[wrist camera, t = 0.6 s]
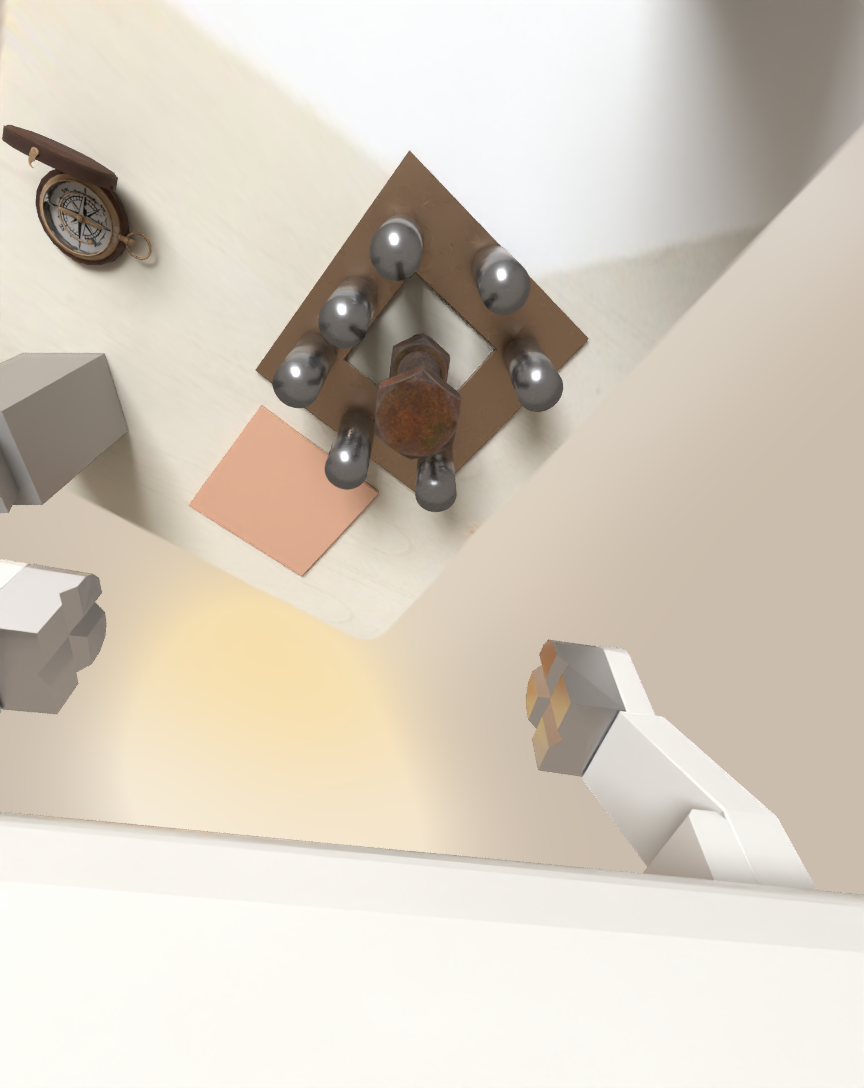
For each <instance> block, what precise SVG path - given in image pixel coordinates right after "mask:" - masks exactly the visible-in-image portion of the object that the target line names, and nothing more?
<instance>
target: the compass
mask: <svg viewBox="0 0 864 1088" xmlns="http://www.w3.org/2000/svg"><path fill="white" fill-rule="evenodd" d="M2 139H3V141H4V142H6V143H7V144H9V145H10V146H12V147H13V148H15V149H17V150H19V151H20V152H22V153H24V154H26V155H28V156H29V165H30V166H31V162H32V161H35V159H36V160H38V161H40V162H42V163H44V164H46V165H48V166H51V167H53V168H55V170H52V171H50V172H49V173H48V174H47V175H45V176H44V177H43V178H42V179H41V182H40V184H39V186H38V188H37V193H36V207H37V213H38V217H39V220H40V222H41V224H42V227H43V229H44V231H45V232H46V234H47V235H48V237H49V238H50V239H51V241H52V242H53V244H55V245H56V246H57V247H58V248H59V249H60V250H61V251H62V252H63V253H64V254H66V255H67V256H69V257H71V258H72V259H74V260H75V261H76V262H78V263H85V264H88V265H102V264H105V263H108V262H111V261H114V260H115V259H117V258H118V257H119V256H120V255H121V254H122V253H123V251H124V249H125V247H127V250H128V251H129V253H130V254H131V255H132V256H133V257H135V258H136V259H140V260H143V259H147V258H148V257H149V256H150V254H151V244H150V242H149V240H148V239H147V238H146V236H144V235H143V234H142V233H140V232H136V231H135V232H130V233H129V227H128V219H127V216H126V213H125V210H124V208H123V205H122V203H121V202H120V200H119V199H118V197H117V195H116V194H115V192H114V191H113V190H115V189H116V185H117V180H118V178H117V177H116V175H115V174H114V173H113V172H112V171H110V170H109V169H107V168H106V167H104V166H103V165H101V164H100V163H98V162H96V161H95V160H93V159H91V158H89V157H87V156H85V155H84V154H82V153H80V152H78V151H76V150H73V149H71V148H69V147H67V146H65V145H63V144H61V143H59V142H56V141H54V140H52V139H49V138H47V137H45V136H42V135H40V134H37V133H35V132H32V131H29V130H25V129H22V128H19V127H16V126H12V125H6V126H4V128H3V137H2ZM31 167H32V166H31ZM32 168H33V167H32ZM132 234H139V235H141V236H142V237H144V238H145V239H146V241H147V242H148V245H149V253H148V255H147V256H145V257H142V258H141V257H137V256H135V255H134V254H133V253H132V252H131V251H130V249H129V247H128V245H130V246H133V245H134V239H131V238H129V236H131V235H132Z"/></svg>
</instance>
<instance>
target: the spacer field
mask: <svg viewBox="0 0 864 1088" xmlns="http://www.w3.org/2000/svg"><path fill="white" fill-rule="evenodd" d="M415 272H416V273H417V274H418V275H420V276H421V277H422V278H423V279H424V280H425V281H426V282H427V283H428V284H429V285H430V286H431V287H432V288H433V289H434V290H435V291H436V292H437V293H438V294H439V295H441V296H442V297H443V298H444V299H445V300H446V301H447V302H448V303H449V304H450V305H451V306H452V307H453V308H454V309H455V310H456V311H457V312H458V313H459V314H461V315H462V316H463V317H464V318H465V319H466V320H467V321H468V322H469V323H470V324H471V325H472V326H473V327H474V328H475V329H476V330H477V331H478V332H479V333H480V334H482V335H483V336H484V337H485V338H486V339H487V340H488V341H489V342H490V343H491V344H492V345H493V346H494V347H495V348H496V349H495V350H494V351H493V352H492V353H491V354H490V356H489V357H488V358H487V359H486V360H485V361H484V362H483V363H482V364H481V365H480V366H479V368H478V369H477V370H476V371H475V372H474V373H473V374H472V375H471V376H470V377H469V378H468V380H467V381H466V382H465V383H464V384H463V385H462V386H461V387H460V388H459V389H458V391H457V392H458V393H460V394H461V407H460V414H459V419H458V424H457V429H456V434H455V439H454V442H453V445H451V446H449V447H447V448H446V449H444V450H442V451H439V452H437V453H435V454H432V455H429V456H425V457H422V458H417V459H411V460H410V459H408V458H406V457H404V456H402V455H401V454H399V453H398V452H396V451H395V450H393V449H392V448H390V447H389V446H387V445H386V444H385V443H384V442H383V441H382V440H381V439H380V438H378V437H377V436H376V435H375V434H374V424H375V414H376V405H377V396H378V389H379V387H378V386H377V385H376V384H374V383H373V382H372V381H371V380H370V379H368V378H367V377H366V376H365V375H364V374H362V373H361V372H360V371H359V370H358V369H356V368H355V367H354V366H353V365H351V364H350V363H349V362H348V361H347V360H345V359H344V358H345V357H346V356H347V354H348V353H349V352H350V350H351V349H352V348H353V347H354V346H356V345H358V344H359V343H360V342H361V341H362V340H363V338H364V337H365V334H366V332H367V329H368V327H369V326H370V325H371V323H372V322H373V321H374V320H375V318H376V317H377V316H378V314H379V313H380V312H381V311H382V309H383V308H384V307H385V305H386V304H387V303H388V302H389V300H390V299H391V298H392V296H393V295H394V294H395V293H396V291H397V290H398V289H399V287H400V286H401V285H402V284H403V282H404V281H405V280H406V279H407V278H409V277H411V276H412V275H413V274H414V273H415ZM588 339H589V338H588V337H587V336H586V335H585V334H584V333H583V332H582V331H581V330H580V329H579V328H578V327H577V326H576V325H575V324H574V323H573V322H572V321H571V320H570V319H569V317H568V316H567V315H566V314H565V313H564V312H563V311H562V310H561V309H560V308H559V307H558V306H557V305H556V304H555V303H554V302H553V301H552V300H551V299H550V298H549V296H548V295H547V294H546V293H545V292H544V291H543V290H542V289H541V288H540V287H539V286H538V285H537V284H536V283H535V282H534V281H533V280H532V279H531V278H530V277H529V275H528V273H527V271H526V270H525V269H524V267H523V266H522V265H521V264H520V263H519V262H518V261H517V260H516V259H515V258H514V257H513V256H512V255H511V254H510V253H509V252H508V251H507V250H506V249H504V248H503V247H501V246H500V245H499V244H498V243H497V242H496V241H495V240H494V239H493V238H492V237H491V236H490V235H489V233H488V232H487V231H486V230H485V229H484V228H483V227H482V226H481V225H480V224H479V223H478V222H477V221H476V220H475V219H474V218H473V217H472V216H471V215H470V214H469V212H468V211H467V210H466V209H465V208H464V207H463V206H462V205H461V204H460V203H459V202H458V201H457V200H456V199H455V198H454V197H453V196H452V195H451V194H450V193H449V191H448V190H447V189H446V188H445V187H444V186H443V185H442V184H441V183H440V182H439V181H438V180H437V179H436V178H435V177H434V176H433V175H432V174H431V173H430V172H429V170H428V169H427V168H426V167H425V166H424V165H423V164H422V163H421V162H420V161H419V160H418V159H417V158H416V157H415V156H414V155H413V154H412V153H411V152H410V151H409V152H408V153H407V155H406V156H405V158H404V159H403V160H402V162H401V163H400V165H399V166H398V168H397V169H396V170H395V172H394V173H393V175H392V176H391V178H390V179H389V180H388V182H387V183H386V185H385V186H384V188H383V189H382V190H381V192H380V193H379V195H378V196H377V198H376V199H375V200H374V202H373V203H372V205H371V206H370V208H369V209H368V210H367V212H366V213H365V215H364V216H363V218H362V219H361V220H360V222H359V223H358V225H357V226H356V228H355V229H354V230H353V232H352V233H351V235H350V236H349V238H348V239H347V240H346V242H345V243H344V245H343V246H342V248H341V249H340V250H339V252H338V253H337V255H336V256H335V257H334V259H333V260H332V262H331V263H330V265H329V266H328V267H327V269H326V270H325V272H324V273H323V275H322V276H321V277H320V279H319V280H318V282H317V283H316V285H315V286H314V287H313V289H312V290H311V292H310V293H309V295H308V296H307V297H306V299H305V300H304V302H303V303H302V305H301V306H300V307H299V309H298V310H297V312H296V313H295V315H294V316H293V317H292V319H291V320H290V322H289V323H288V325H287V326H286V327H285V329H284V330H283V332H282V333H281V335H280V336H279V337H278V339H277V340H276V342H275V343H274V345H273V346H272V347H271V349H270V350H269V352H268V353H267V355H266V356H265V357H264V359H263V360H262V362H261V363H260V365H259V366H258V367H257V369H256V371H257V372H258V373H260V374H261V375H262V376H264V377H265V378H266V379H268V380H269V381H270V382H272V383H273V389H274V392H275V394H276V395H277V397H278V398H279V399H280V400H281V401H282V402H283V403H284V404H286V405H288V406H290V407H294V408H306V409H307V410H308V411H310V412H311V413H312V414H314V415H315V416H316V417H318V418H319V419H320V420H321V421H323V422H324V423H325V424H327V425H328V426H329V427H331V428H332V429H333V430H335V431H336V435H335V438H334V441H333V444H332V446H331V449H330V452H329V455H328V458H327V461H326V463H325V475H326V477H327V479H328V480H329V482H330V483H331V484H333V485H334V486H336V487H338V488H340V489H346V490H349V489H354V488H357V487H359V486H360V485H361V484H362V483H363V482H364V480H365V478H366V475H367V470H368V465H369V460H370V458H371V459H373V460H374V461H375V462H377V463H378V464H379V465H381V466H382V467H383V468H384V469H386V470H387V471H388V472H390V473H391V474H392V475H394V476H395V477H396V478H398V479H399V480H400V481H402V482H403V483H404V484H405V485H407V486H408V487H409V488H411V489H412V490H413V491H415V496H416V500H417V502H418V503H419V505H420V506H421V507H422V508H424V509H426V510H428V511H431V512H440V511H444V510H446V509H448V508H449V507H450V506H451V505H452V504H453V503H454V501H455V499H456V483H455V473H456V472H457V471H458V470H459V469H460V468H461V467H462V466H463V465H464V464H465V463H466V462H467V461H468V460H469V459H470V458H471V457H472V456H473V455H474V454H475V453H476V452H477V451H478V450H479V449H480V448H481V447H482V446H483V445H484V444H485V443H486V442H487V441H488V440H489V438H490V437H491V436H492V435H493V434H494V433H495V432H496V431H497V430H498V429H499V428H500V427H501V426H502V425H503V424H504V423H505V422H506V421H507V420H508V419H509V418H510V417H511V416H512V415H513V414H514V413H515V412H516V411H517V410H518V409H519V408H520V407H521V406H522V405H523V407H525V408H526V409H528V410H530V411H535V412H541V411H545V410H548V409H550V408H551V407H553V406H554V405H555V404H556V403H557V402H558V401H559V399H560V397H561V395H562V391H563V382H562V379H561V377H560V375H559V374H558V372H557V370H558V369H559V368H560V367H561V366H562V365H563V364H564V363H565V362H566V361H567V360H568V359H569V358H570V357H571V356H572V355H573V354H574V353H575V352H576V351H577V350H578V349H579V348H580V347H581V346H582V345H583V344H584V343H585V342H586V341H587V340H588Z"/></svg>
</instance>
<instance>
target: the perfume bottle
mask: <svg viewBox="0 0 864 1088" xmlns="http://www.w3.org/2000/svg"><path fill="white" fill-rule="evenodd" d="M127 431H128V427H127V424H126V420H125V417H124V414H123V411H122V408H121V404H120V401H119V398H118V395H117V392H116V388H115V385H114V382H113V379H112V376H111V372H110V369H109V366H108V363H107V360H106V356H105V353H22V354H20V355H17V356H15V357H13V358H11V359H9V360H6V361H4V362H2V363H0V513H9V511H10V509H11V507H12V505H43V504H44V503H45V502H46V501H47V500H48V499H50V498H51V497H52V496H53V495H54V494H55V493H57V492H58V491H59V490H60V489H61V488H62V487H64V486H65V485H66V484H67V483H68V482H69V481H70V480H72V479H73V478H74V477H75V476H76V475H77V474H79V473H80V472H81V471H82V470H83V469H84V468H85V467H87V466H88V465H89V464H90V463H91V462H92V461H94V460H95V459H96V458H97V457H98V456H99V455H100V454H102V453H103V452H104V451H105V450H106V449H107V448H109V447H110V446H111V445H112V444H113V443H114V442H116V441H117V440H118V439H119V438H120V437H121V436H122V435H124V434H125V433H126V432H127Z"/></svg>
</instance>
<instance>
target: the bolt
mask: <svg viewBox="0 0 864 1088" xmlns="http://www.w3.org/2000/svg"><path fill="white" fill-rule="evenodd" d="M449 362H450V355H449V354H448V353H447V352H446V351H445V350H444V349H443V348H442V347H440V346H439V345H438V344H437V343H436V342H435V341H434V340H433V339H431V338H430V337H428V336H426V335H425V334H421V335H420V334H419V335H414V336H413V337H411V338H410V339H407V340H405V341H403V342H400V343H398V344H397V345H395V346H393V352H392V359H391V368H390V377H389V379H386V380H384V381H381V382H380V384H379V389H378V396H377V405H376V414H375V424H374V434H375V435H376V436H377V437H378V438H380V439H381V440H382V441H383V442H384V443H385V444H386V445H387V446H389V447H390V448H392V449H393V450H395V451H396V452H398V453H399V454H401V455H402V456H404V457H406V458H408V459H410V460H411V459H417V458H422V457H425V456H429V455H432V454H435V453H437V452H439V451H442V450H444V449H446V448H447V447H449V446H451V445H453V442H454V439H455V434H456V429H457V424H458V419H459V414H460V407H461V394H460V393H458V392H457V391H456V390H455V389H453V388H452V387H451V386H450V385H448V384H447V383H446V381H447V375H448V369H449Z"/></svg>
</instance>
